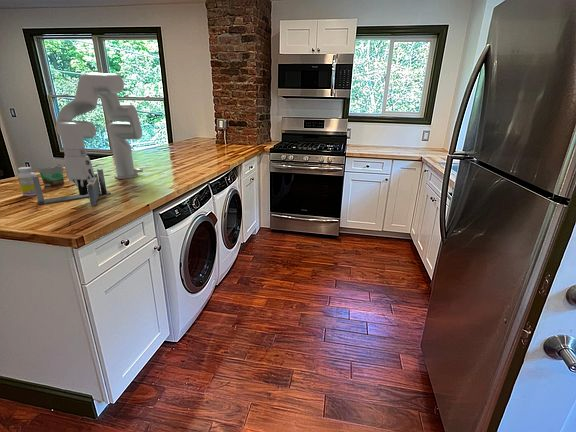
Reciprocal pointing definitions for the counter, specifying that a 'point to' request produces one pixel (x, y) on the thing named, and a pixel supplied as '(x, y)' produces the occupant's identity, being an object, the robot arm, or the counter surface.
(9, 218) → the counter surface
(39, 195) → the gate frame
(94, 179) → the gate
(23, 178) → the supplement bottle
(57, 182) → the food container
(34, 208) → the counter surface
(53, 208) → the counter surface
